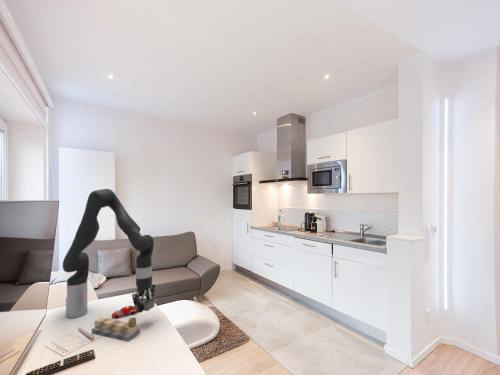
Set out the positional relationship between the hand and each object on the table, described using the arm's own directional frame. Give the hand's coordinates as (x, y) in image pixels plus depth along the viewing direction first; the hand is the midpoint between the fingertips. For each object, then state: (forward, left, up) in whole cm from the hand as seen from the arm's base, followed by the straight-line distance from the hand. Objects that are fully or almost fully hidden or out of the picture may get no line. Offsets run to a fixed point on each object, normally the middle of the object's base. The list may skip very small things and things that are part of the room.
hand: (144, 309), depth 123 cm
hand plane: (-8, -10, -8) cm, 15 cm away
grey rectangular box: (0, 0, +1) cm, 1 cm away
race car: (-18, +6, -8) cm, 20 cm away
